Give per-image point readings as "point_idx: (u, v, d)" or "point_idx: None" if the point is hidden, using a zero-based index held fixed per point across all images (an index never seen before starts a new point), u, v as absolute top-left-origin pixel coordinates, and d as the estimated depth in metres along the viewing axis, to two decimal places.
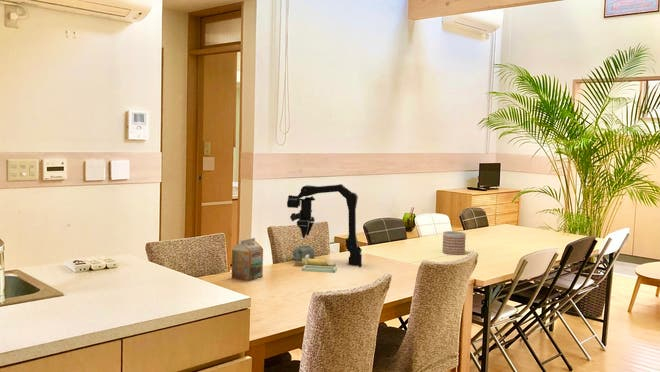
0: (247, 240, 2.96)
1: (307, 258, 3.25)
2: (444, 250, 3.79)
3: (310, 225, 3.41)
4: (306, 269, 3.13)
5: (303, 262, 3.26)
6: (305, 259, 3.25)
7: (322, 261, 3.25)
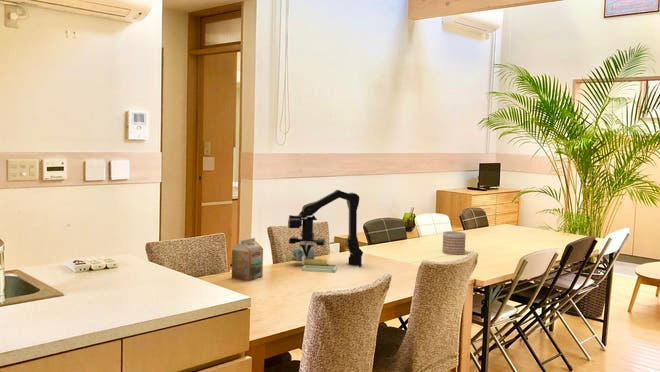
0: (247, 240, 2.96)
1: None
2: (444, 250, 3.79)
3: (307, 247, 3.25)
4: (306, 269, 3.13)
5: None
6: (302, 259, 3.25)
7: (322, 261, 3.25)
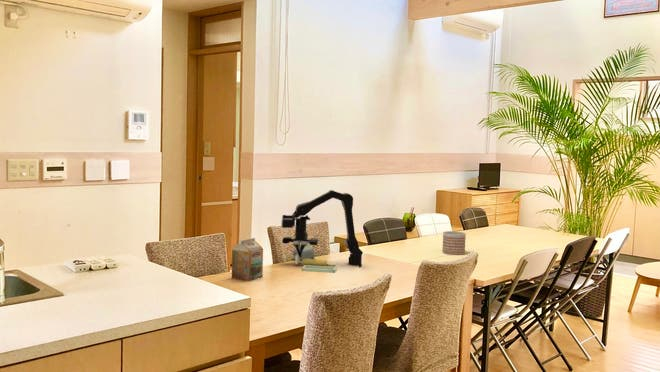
0: (247, 240, 2.96)
1: (297, 257, 3.26)
2: (444, 250, 3.79)
3: (300, 247, 3.26)
4: (306, 269, 3.13)
5: (303, 262, 3.26)
6: (295, 258, 3.25)
7: (322, 261, 3.25)
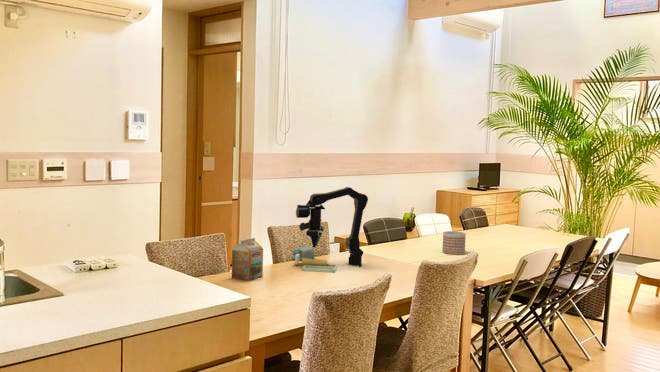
0: (247, 240, 2.96)
1: (297, 257, 3.26)
2: (444, 250, 3.79)
3: (318, 235, 3.28)
4: (306, 269, 3.13)
5: (303, 262, 3.26)
6: (295, 258, 3.25)
7: (322, 261, 3.25)
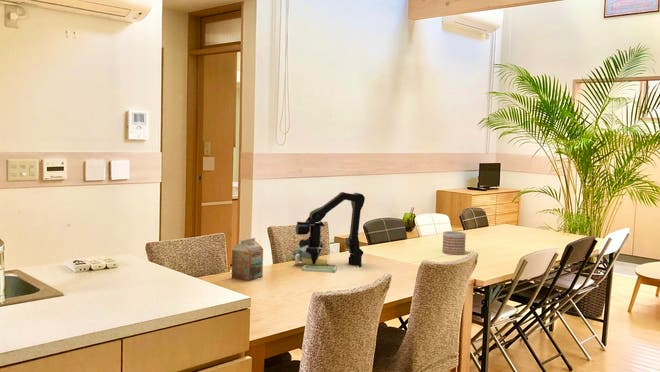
0: (247, 240, 2.96)
1: (297, 257, 3.26)
2: (444, 250, 3.79)
3: (318, 252, 3.28)
4: (306, 269, 3.13)
5: (303, 262, 3.26)
6: (295, 258, 3.25)
7: (322, 261, 3.25)
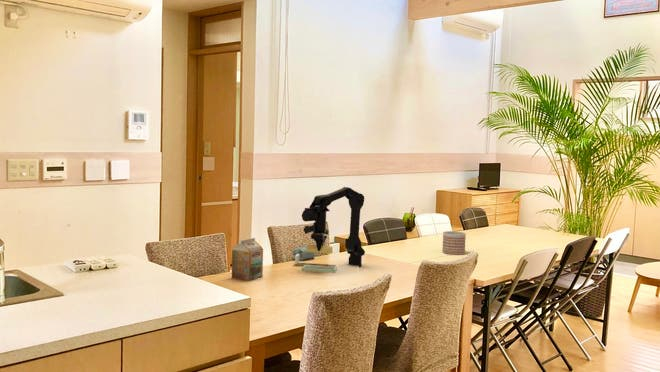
0: (247, 240, 2.96)
1: (297, 257, 3.26)
2: (444, 250, 3.79)
3: (323, 239, 3.17)
4: (306, 269, 3.13)
5: (308, 249, 3.15)
6: (295, 258, 3.25)
7: (327, 248, 3.13)
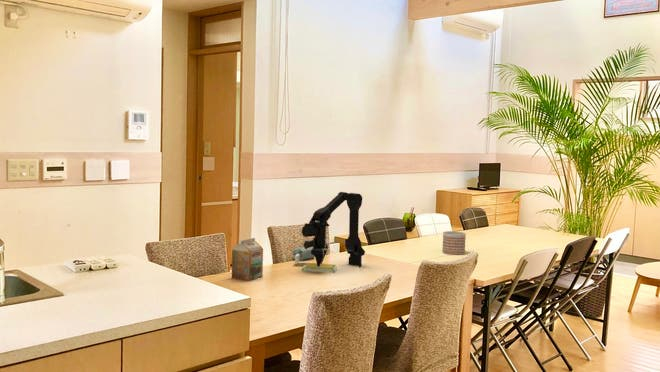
0: (247, 240, 2.96)
1: (297, 257, 3.26)
2: (444, 250, 3.79)
3: (323, 253, 3.18)
4: (306, 269, 3.13)
5: (307, 267, 3.15)
6: (295, 258, 3.25)
7: (327, 266, 3.14)
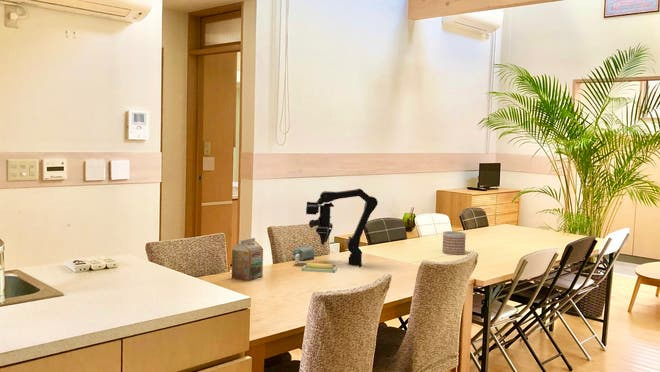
0: (247, 240, 2.96)
1: (297, 257, 3.26)
2: (444, 250, 3.79)
3: (328, 232, 3.36)
4: (306, 269, 3.13)
5: (307, 267, 3.15)
6: (295, 258, 3.25)
7: (327, 266, 3.13)
